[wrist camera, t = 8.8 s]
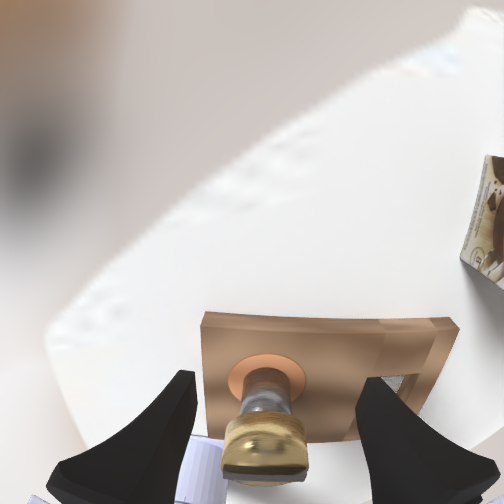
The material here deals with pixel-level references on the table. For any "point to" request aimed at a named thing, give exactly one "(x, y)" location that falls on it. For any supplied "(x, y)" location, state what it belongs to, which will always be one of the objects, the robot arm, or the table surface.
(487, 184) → the coffee box
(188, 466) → the robot arm
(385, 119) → the table surface
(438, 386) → the table surface
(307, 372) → the board
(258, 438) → the gold rounded piece
